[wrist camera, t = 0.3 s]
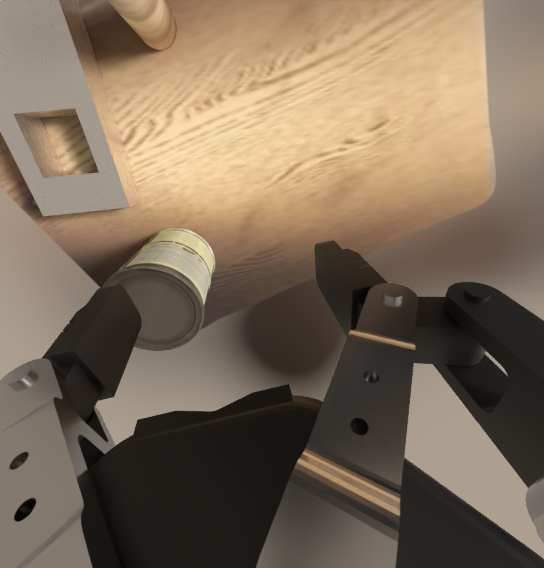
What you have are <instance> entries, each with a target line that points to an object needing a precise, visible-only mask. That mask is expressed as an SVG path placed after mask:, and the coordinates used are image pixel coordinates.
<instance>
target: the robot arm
mask: <svg viewBox="0 0 544 568" xmlns="http://www.w3.org/2000/svg"><path fill="white" fill-rule="evenodd" d="M315 265H316V278H317V283H318V286H319V289H320V291H321V292H322V294H323V296H324V298H325V299H326V301H327V303H328V305H329V307H330V308H331V310H332V312H333V314H334V315H335V317H336V319H337V321H338V322H339V324H340V326H341V327H342V329H343V331H344V333H345V335H346V337H347V339H346V341H345V344H344V347H343V349H342V352H341V355H340V358H339V360H338V363H337V366H336V368H335V371H334V374H333V376H332V379H331V382H330V385H329V387H328V390H327V393H326V395H325V398H324V401H323V402H322V401H320V400H317V399H314V398H309V397H304V396H293V395H292V394H291V390H290V386H289V384H287V385H283V386H279V387H275V388H270V389H266V390H262V391H258V392H254V393H251V394H249V395H247V396H245V397H243V398H241V399H239V400H237V401H235V402H233V403H231V404H229V405H227V406H225V407H223V408H221V409H219V410H216V411H212V412H205V411H204V412H203V411H173V412H169V413H165V414H161V415H156V416H152V417H148V418H143V419H139V420H137V424H136V427H135V431H134V434H133V435H132V436H130V437H129V438H127V439H125V440H123V441H122V442H120V443H119V444H118V445H116V446H115V444H114V441H113V439H112V437H111V435H110V433H109V431H108V429H107V427H106V424H105V423H104V421H103V418H102V416H101V414H100V412H99V411H98V409H97V408H96V407H95V405H96V403H97V401H98V400H103V399H107V398H111V397H114V395H115V393H116V390H117V388H118V385H119V383H120V380H121V378H122V375H123V373H124V370H125V368H126V365H127V362H128V360H129V357H130V355H131V352H132V349H133V347H134V345H135V342H136V340H137V337H138V335H139V332H140V329H141V326H142V320H141V316H140V313H139V312H138V310H137V308H136V306H135V305H134V303H133V301H132V299H131V298H130V296H129V294H128V293H127V291H126V289H125V288H124V287H123V286H122V285H120V284H118V285H113V286H108V287H103V288H99V289H98V290H97V291H96V293H95V294H94V295H93V296H92V298H91V299H90V301H89V302H88V303H87V304H86V305H85V306H84V307H83V308H82V309H80V310H79V311H78V312H77V313H76V314H75V315H74V317H73V318H72V319H71V320H70V322H69V323H70V324H67V326H66V327H65V328H64V330H63V332H61V334H60V335H59V336H58V338H57V339H56V340H55V342H54V343H53V344H52V346H51V347H50V348H49V350H48V351H47V352H46V353H45V355H44V356H43V357H42V359H36V360H33V361H30V362H28V363H25V364H23V365H21V366H19V367H17V368H16V369H14V370H13V371H11V372H10V373H8V374H7V375H6V376H5V377H3V378H2V379H1V380H0V568H544V559H543V558H542V557H540V556H539V555H538V554H536V553H535V552H534V551H532V550H531V549H530V548H528V547H527V546H526V545H524V544H523V543H521V542H520V541H518V540H517V539H516V538H515V537H513V536H512V535H510V534H509V533H507V532H506V531H505V530H503V529H502V528H501V527H499V526H498V525H497V524H495V523H494V522H492V521H491V520H489V519H488V518H487V517H485V516H484V515H483V514H481V513H480V512H479V511H477V510H476V509H474V508H473V507H472V506H470V505H469V504H468V503H466V502H465V501H464V500H462V499H461V498H459V497H458V496H456V495H455V494H454V493H452V492H451V491H450V490H448V489H447V488H446V487H444V486H443V485H441V484H440V483H439V482H437V481H436V480H434V479H433V478H432V477H430V476H429V475H428V474H426V473H425V472H423V471H422V470H421V469H419V468H418V467H417V466H415V465H414V464H413V463H411V462H410V461H408V460H407V459H406V458H404V454H405V444H406V434H407V424H408V415H409V405H410V395H411V386H412V376H413V366H414V363H424V364H433V365H434V366H435V368H436V369H437V370H438V371H439V373H440V374H441V375H442V377H443V378H444V379H445V380H446V382H447V383H448V384H449V386H450V387H451V388H452V390H453V391H454V392H455V393H456V395H457V396H458V397H459V399H460V400H461V401H462V403H463V404H464V405H465V406H466V408H467V409H468V410H469V412H470V413H471V414H472V416H473V417H474V418H475V419H476V421H477V422H478V423H479V424H480V426H481V427H482V428H483V430H484V431H485V432H486V434H487V435H488V436H489V437H490V439H491V440H492V441H493V443H494V444H495V445H496V447H497V448H498V449H499V451H500V452H501V453H502V454H503V456H504V457H505V458H506V460H507V461H508V462H509V464H510V465H511V466H512V467H513V469H514V470H515V471H516V472H517V474H518V475H519V476H520V478H521V479H522V480H523V482H524V483H525V484H526V486H527V487H528V490H527V493H526V505H527V509H528V512H529V515H530V517H531V519H532V521H533V523H534V525H535V527H536V530H537V533H538V535H539V537H540V538H541V540H542V541H543V543H544V321H543V320H542V319H540V318H539V317H537V316H536V315H534V314H533V313H531V312H530V311H528V310H527V309H525V308H524V307H523V306H521V305H520V304H518V303H517V302H515V301H514V300H512V299H511V298H509V297H508V296H506V295H505V294H503V293H502V292H500V291H499V290H497V289H495V288H493V287H490V286H488V285H485V284H480V283H475V282H460V283H455V284H453V285H451V286H450V287H449V288H448V290H447V293H446V297H418V296H417V294H416V293H415V292H414V291H413V290H412V289H410V288H408V287H406V286H404V285H400V284H396V283H387V282H386V281H385V280H384V279H383V278H382V277H381V276H380V275H379V274H378V273H377V272H376V271H375V270H374V269H373V268H372V267H371V266H370V265H369V264H368V263H367V262H366V261H365V260H364V259H363V258H362V257H361V256H360V255H359V254H358V253H356V252H354V251H352V250H349V249H344V250H342V249H341V248H340V247H339V245H338V244H337V243H336V242H335V241H334V240H331V241H326V242H321V243H317V244H315ZM486 351H487V352H488V353H489V354H490V355H491V356H492V357H493V358H495V360H496V361H498V363H500V364H501V366H502V367H503V368H504V369H505V371H506V372H507V374H508V376H507V375H506V374H505V373H504V372H503V371H502V370H501V369H499V367H498V366H497V365H495V364H494V362H492V361H491V360H490V359H489V358H488V357H487V356H486V355H485V352H486Z"/></svg>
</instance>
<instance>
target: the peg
mask: <svg viewBox="0 0 544 568" xmlns="http://www.w3.org/2000/svg"><path fill="white" fill-rule="evenodd" d="M107 1H108V2H109V3H110V4H111V5H112V6H113V7H114V8H115V10H116V11H117V12H118V13H119V14H120V15H121V16H122V17H123V18H124V20H125V21H126V22H127V23H128V24H129V25H130V26H131V27H132V28H133V30H134V31H135V32H136V33H137V34H138V35H139V36H140V37H141V39H142V40H143V41H144V42H145V43H146V44H147V45H148V46H150V47H151V48H153V49H155V50H166V49H168V48H169V47H171V45H172V44H173V43H174V41H175V38H176V23H175V19H174V16H173V14H172V12H171V10H170V8H169V6H168V4H167V2H166V1H165V0H107Z"/></svg>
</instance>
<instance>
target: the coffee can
mask: <svg viewBox="0 0 544 568" xmlns="http://www.w3.org/2000/svg"><path fill="white" fill-rule="evenodd" d="M214 268H215V258H214V254H213V251H212V249H211V247H210V246H209V244H208V243H207V242H206V241H205V240H204V239H203V238H202V237H201V236H199V235H198V234H196V233H194V232H192V231H190V230H187V229H182V228H170V229H165V230H162V231H160V232H158V233H157V234H155V235H154V236H153V237H152V238H151V239H150V240H149V242H148V243H146V244H145V245H144V246H143V247H142V248H141V249H140V250H139V251H138V252H137V253H136V254H135V255H134V256H133V257H132V258H131V259H130V260H129V261H128V262H127V263H126V264H125V265H124V266H122V267H121V268H120V269H119V270H118V271H116V272H115V273H114V274H112V275H111V276H110V277H109V278H108V279H107V280H106V281H105V282H104V283H103V285H102V287H101V288H103V287H108V286H113V285H118V284H120V285H122V286H123V287H124V288H125V289H126V291H127V293H128V294H129V296H130V298H131V299H132V301H133V303H134V305H135V306H136V308H137V310H138V312H139V313H140V316H141V320H142V326H141V329H140V332H139V335H138V337H137V340H136V342H135V345H134V347H137V348H140V349H146V350H153V351H160V350H170V349H174V348H177V347H180V346H182V345H184V344H186V343H187V342H189V341H190V340H192V339H193V337H195V336H196V334H197V333H198V332H199V330H200V328H201V326H202V323H203V320H204V310H205V305H206V301H207V297H208V292H209V288H210V283H211V279H212V275H213V272H214Z"/></svg>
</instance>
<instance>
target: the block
mask: <svg viewBox="0 0 544 568" xmlns="http://www.w3.org/2000/svg"><path fill="white" fill-rule="evenodd" d="M73 115H78V118H79V120H80V123H81V126H82V128H83V131H84V134H85V136H86V139H87V142H88V144H89V147H90V150H91V152H92V155H93V158H94V160H95V163H96V166H97V168H98V171H99V172H94V173H84V174H74V175H65V172H64V170H63V168H62V165H61V163H60V161H59V159H58V156H57V154H56V152H55V149H54V147H53V145H52V142H51V140H50V138H49V135H48V133H47V131H46V128H45V126H44V124H43V122H42V119H41V118H51V117H62V116H73ZM0 132H1V134H2V136H3V138H4V140H5V142H6V144H7V146H8V148H9V150H10V152H11V154H12V156H13V158H14V160H15V162H16V164H17V166H18V167H19V169H20V171H21V173H22V175H23V177H24V179H25V181H26V183H27V185H28V187H29V189H30V191H31V193H32V195H33V197H34V199H35V201H36V203H37V205H38V207H39V209H40V211H41V213H42V215H43V216H52V215H62V214H71V213H80V212H90V211H99V210H108V209H118V208H127V207H131V206H133V205H135V204H137V203H139V202H141V198H140V195H139V192H138V189H137V186H136V183H135V180H134V176H133V173H132V170H131V167H130V164H129V161H128V158H127V154H126V151H125V148H124V145H123V142H122V139H121V136H120V132H119V129H118V126H117V123H116V120H115V117H114V114H113V110H112V107H111V104H110V101H109V98H108V95H107V92H106V88H105V85H104V82H103V79H102V76H101V73H100V70H99V66H98V63H97V60H96V57H95V54H94V51H93V47H92V44H91V41H90V38H89V35H88V32H87V29H86V25H85V22H84V19H83V16H82V13H81V10H80V7H79V3H78V0H0Z"/></svg>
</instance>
